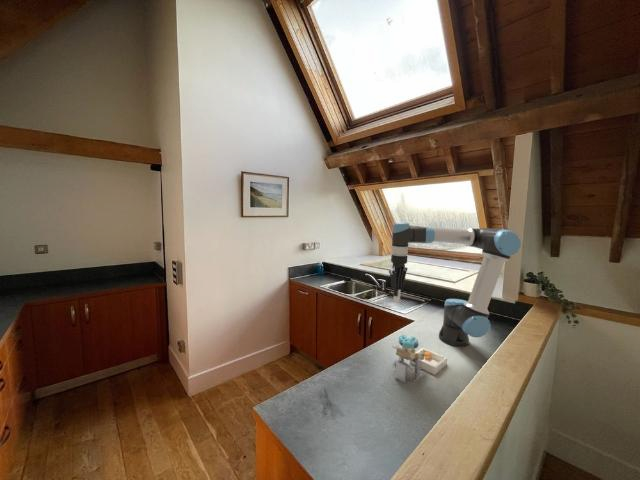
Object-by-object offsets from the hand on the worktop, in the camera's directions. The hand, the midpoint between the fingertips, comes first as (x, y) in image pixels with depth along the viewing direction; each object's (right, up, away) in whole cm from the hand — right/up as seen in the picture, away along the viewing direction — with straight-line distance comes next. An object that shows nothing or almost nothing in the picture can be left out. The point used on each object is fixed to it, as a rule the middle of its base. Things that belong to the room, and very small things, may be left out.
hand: (396, 301), depth 129 cm
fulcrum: (0, -28, -15) cm, 32 cm away
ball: (+14, -25, -3) cm, 29 cm away
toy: (+10, -26, +11) cm, 30 cm away
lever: (-1, -20, -12) cm, 23 cm away
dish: (+13, -28, -6) cm, 31 cm away
